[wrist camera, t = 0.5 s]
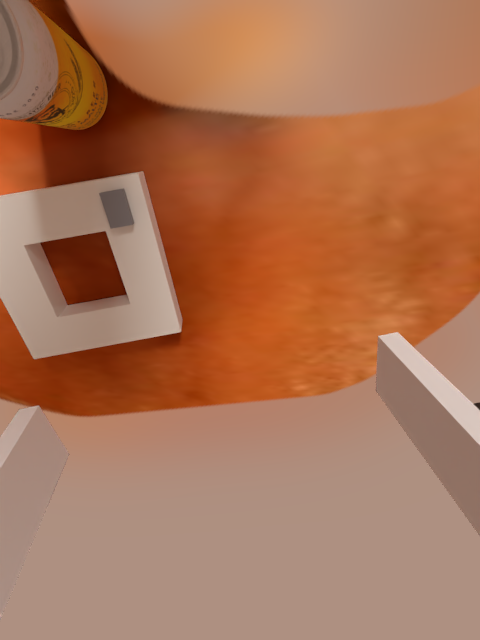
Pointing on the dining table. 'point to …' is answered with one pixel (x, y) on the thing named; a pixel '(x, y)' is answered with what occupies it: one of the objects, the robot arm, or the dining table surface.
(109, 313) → the socket plate
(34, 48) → the beer can
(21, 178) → the dining table surface
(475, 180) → the dining table surface
